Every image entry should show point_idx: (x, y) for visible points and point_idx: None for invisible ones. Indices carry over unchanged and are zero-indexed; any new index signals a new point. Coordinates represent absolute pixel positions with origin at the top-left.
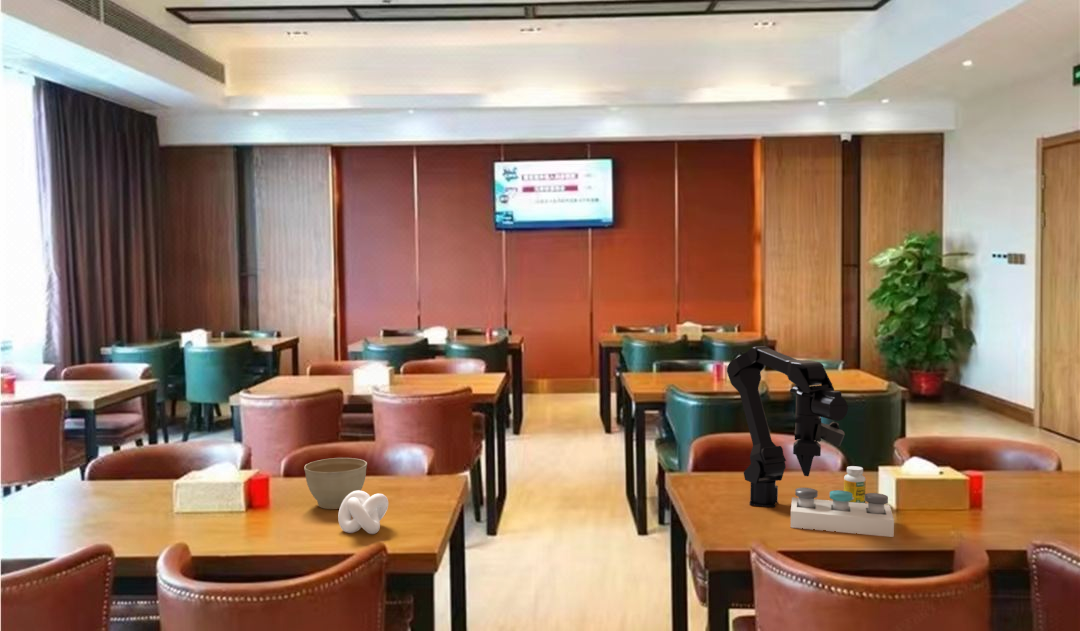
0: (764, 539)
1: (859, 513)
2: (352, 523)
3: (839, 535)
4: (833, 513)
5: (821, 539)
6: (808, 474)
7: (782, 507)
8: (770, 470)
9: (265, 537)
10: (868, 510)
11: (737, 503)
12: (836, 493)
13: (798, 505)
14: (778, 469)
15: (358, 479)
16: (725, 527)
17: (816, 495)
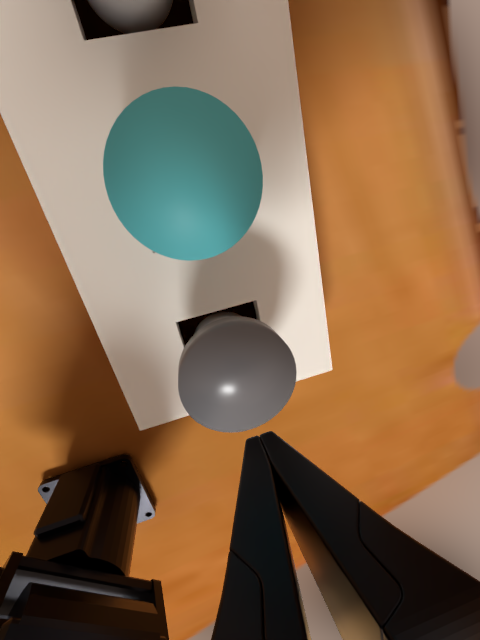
0: (426, 366)
1: (227, 71)
2: None
3: (317, 178)
4: (290, 209)
5: (379, 228)
6: (279, 440)
7: (103, 436)
8: (133, 636)
9: None
10: (150, 10)
11: (153, 539)
12: (207, 211)
13: None
14: (72, 627)
15: None
16: (370, 469)
17: (249, 320)
